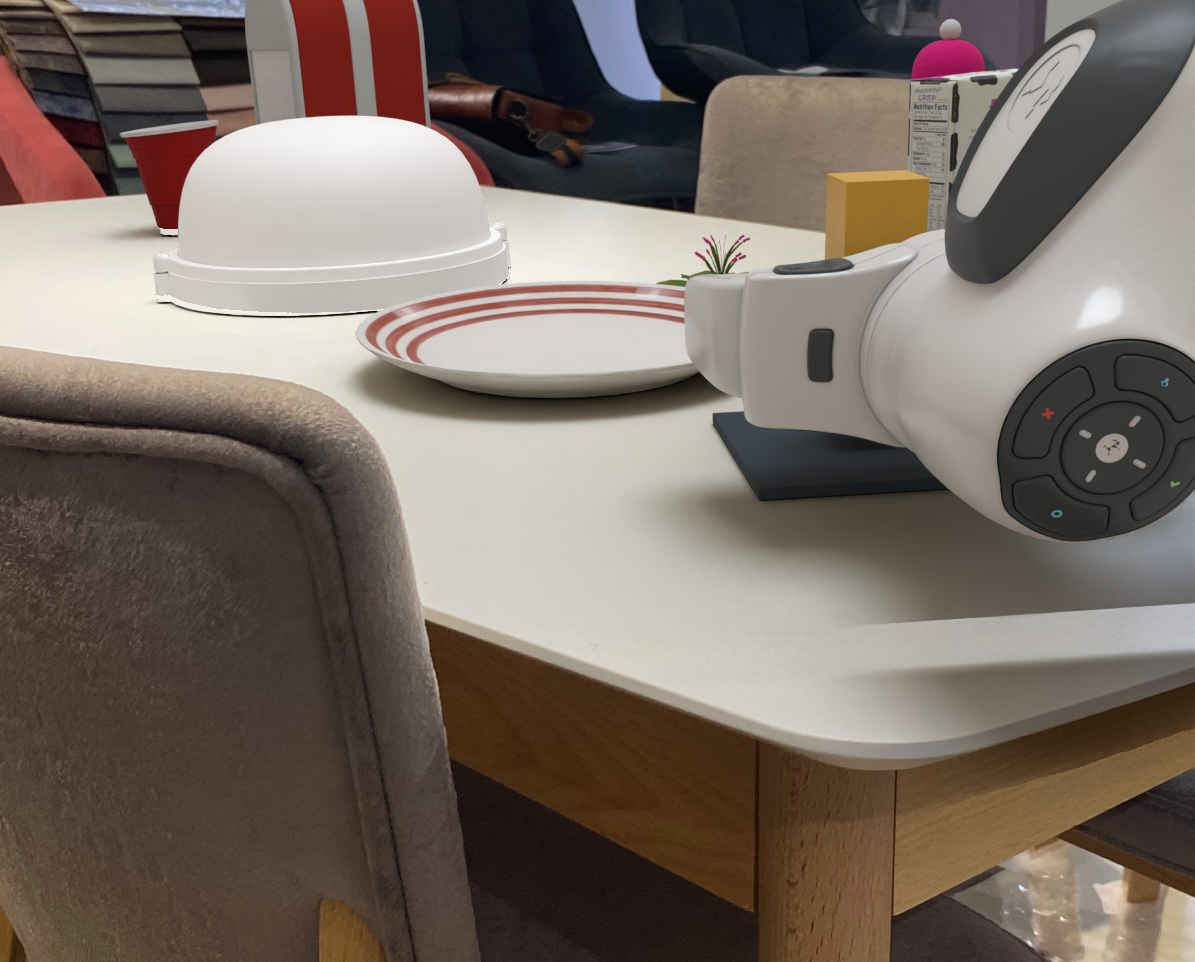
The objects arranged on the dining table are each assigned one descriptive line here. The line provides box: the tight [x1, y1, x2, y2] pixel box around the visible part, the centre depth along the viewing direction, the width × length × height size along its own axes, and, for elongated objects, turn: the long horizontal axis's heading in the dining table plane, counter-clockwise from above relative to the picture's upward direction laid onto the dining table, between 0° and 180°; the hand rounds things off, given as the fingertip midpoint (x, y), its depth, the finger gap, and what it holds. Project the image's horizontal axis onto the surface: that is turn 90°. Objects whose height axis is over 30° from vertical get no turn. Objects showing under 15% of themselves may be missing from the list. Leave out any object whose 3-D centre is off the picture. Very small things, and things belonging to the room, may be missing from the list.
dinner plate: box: [355, 280, 700, 399], centre depth 94 cm, size 27×27×3 cm
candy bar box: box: [907, 68, 1019, 232], centre depth 110 cm, size 11×5×16 cm, turn 126°
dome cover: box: [152, 116, 512, 313], centre depth 125 cm, size 32×30×14 cm
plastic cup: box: [119, 119, 220, 229], centre depth 161 cm, size 11×11×12 cm
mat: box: [712, 410, 949, 501], centre depth 74 cm, size 14×14×1 cm
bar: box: [824, 169, 930, 260], centre depth 71 cm, size 4×4×12 cm
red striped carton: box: [244, 0, 432, 129], centre depth 181 cm, size 16×18×27 cm
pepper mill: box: [911, 18, 986, 79], centre depth 124 cm, size 7×7×20 cm
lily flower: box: [655, 234, 751, 287], centre depth 116 cm, size 12×12×5 cm
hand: (867, 285), depth 72 cm, fingers closed on bar, 4 cm apart
